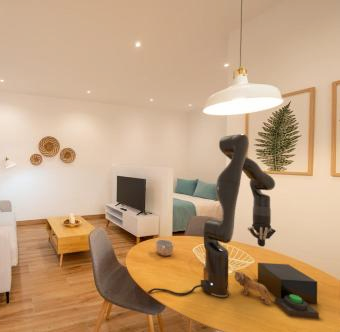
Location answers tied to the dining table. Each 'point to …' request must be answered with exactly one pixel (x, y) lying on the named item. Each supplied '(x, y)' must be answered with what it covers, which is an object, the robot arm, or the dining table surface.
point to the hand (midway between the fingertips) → (261, 245)
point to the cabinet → (287, 282)
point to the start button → (296, 299)
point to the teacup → (164, 247)
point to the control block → (296, 308)
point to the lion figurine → (252, 286)
